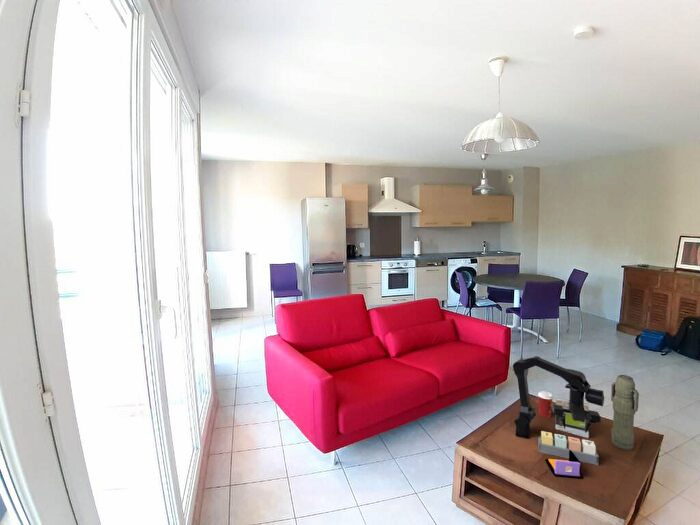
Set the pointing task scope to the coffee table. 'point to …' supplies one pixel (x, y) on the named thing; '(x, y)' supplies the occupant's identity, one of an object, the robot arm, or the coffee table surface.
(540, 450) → the keypad
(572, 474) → the business card holder
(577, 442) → the key with dash symbol
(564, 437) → the key with caret symbol
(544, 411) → the paper cup
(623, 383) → the green thermos flask
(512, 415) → the coffee table surface
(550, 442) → the key
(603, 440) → the coffee table surface
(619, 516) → the coffee table surface
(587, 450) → the key
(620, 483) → the coffee table surface
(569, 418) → the tea box
